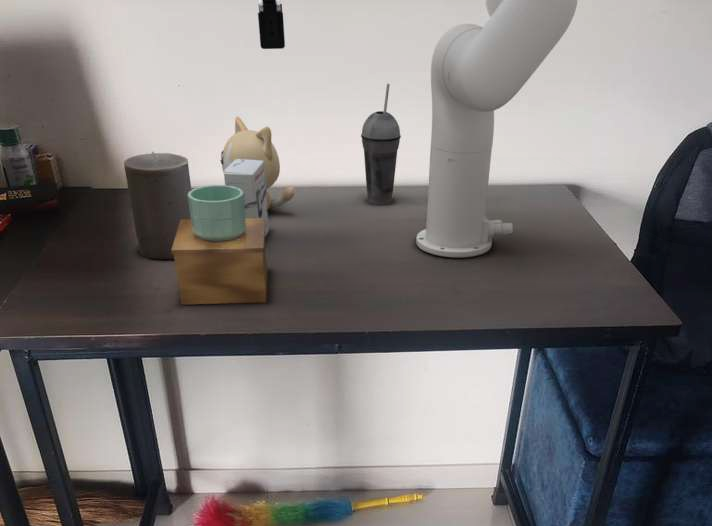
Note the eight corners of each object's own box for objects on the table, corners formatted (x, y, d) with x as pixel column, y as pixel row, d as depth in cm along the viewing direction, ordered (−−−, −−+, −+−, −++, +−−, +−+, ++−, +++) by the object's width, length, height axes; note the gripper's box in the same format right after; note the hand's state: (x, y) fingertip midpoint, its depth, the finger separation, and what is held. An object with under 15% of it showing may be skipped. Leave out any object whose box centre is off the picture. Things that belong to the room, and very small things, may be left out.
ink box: (259, 248, 126) (253, 173, 119) (229, 247, 126) (221, 172, 119) (270, 230, 133) (264, 158, 125) (242, 229, 133) (235, 157, 126)
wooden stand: (268, 269, 119) (264, 217, 114) (267, 303, 109) (263, 247, 104) (187, 271, 118) (180, 219, 113) (179, 305, 108) (171, 249, 103)
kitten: (208, 205, 143) (197, 117, 134) (253, 195, 148) (246, 110, 139) (252, 226, 134) (244, 134, 125) (298, 215, 139) (294, 125, 130)
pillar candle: (132, 259, 122) (113, 159, 112) (148, 237, 129) (131, 142, 120) (192, 261, 121) (179, 161, 112) (205, 239, 129) (193, 144, 120)
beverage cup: (356, 196, 148) (356, 80, 136) (391, 193, 150) (394, 79, 138) (367, 208, 143) (368, 89, 130) (403, 205, 145) (408, 87, 132)
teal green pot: (247, 223, 112) (244, 184, 109) (245, 241, 106) (242, 201, 103) (195, 224, 111) (190, 185, 108) (191, 243, 105) (185, 202, 102)
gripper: (293, -119, 88) (302, 52, 99) (290, -117, 101) (298, 33, 112) (227, -119, 87) (243, 53, 98) (233, -118, 101) (246, 34, 111)
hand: (272, 42), depth 105 cm, fingers open, 9 cm apart
